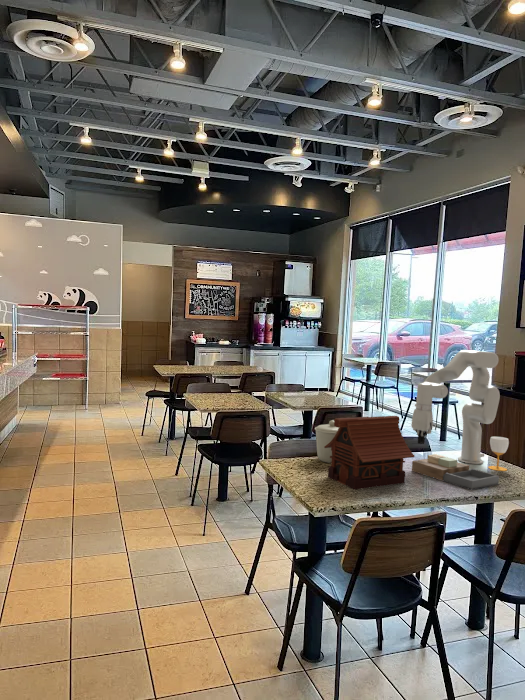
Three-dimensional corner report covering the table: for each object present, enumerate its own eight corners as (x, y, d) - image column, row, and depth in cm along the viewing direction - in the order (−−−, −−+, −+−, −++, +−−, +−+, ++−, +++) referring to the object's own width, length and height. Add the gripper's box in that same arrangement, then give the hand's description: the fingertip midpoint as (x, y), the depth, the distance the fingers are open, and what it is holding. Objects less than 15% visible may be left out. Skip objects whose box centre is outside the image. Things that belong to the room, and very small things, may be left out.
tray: (469, 476, 252) (470, 467, 252) (498, 484, 239) (498, 475, 239) (443, 481, 241) (443, 472, 241) (471, 490, 228) (472, 481, 228)
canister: (342, 467, 257) (344, 425, 256) (308, 461, 265) (310, 420, 264) (352, 459, 273) (354, 420, 273) (319, 454, 281) (321, 416, 280)
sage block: (446, 463, 255) (446, 457, 255) (456, 466, 250) (457, 459, 250) (438, 464, 252) (438, 458, 251) (448, 467, 247) (449, 461, 246)
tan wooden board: (438, 466, 267) (438, 457, 267) (468, 475, 252) (469, 465, 252) (411, 470, 256) (412, 460, 256) (442, 480, 241) (442, 470, 241)
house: (373, 469, 257) (376, 410, 256) (415, 485, 232) (419, 421, 231) (315, 475, 240) (318, 413, 239) (353, 494, 215) (357, 424, 214)
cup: (503, 467, 273) (505, 436, 272) (509, 471, 264) (511, 440, 263) (485, 465, 274) (487, 435, 273) (491, 470, 265) (493, 439, 264)
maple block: (435, 460, 260) (435, 454, 260) (445, 462, 255) (445, 456, 255) (427, 461, 257) (427, 455, 257) (437, 464, 252) (437, 458, 252)
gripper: (407, 405, 267) (404, 440, 268) (430, 410, 255) (428, 447, 255) (416, 405, 271) (414, 440, 272) (440, 409, 259) (437, 446, 259)
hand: (420, 443), depth 263 cm, fingers closed
